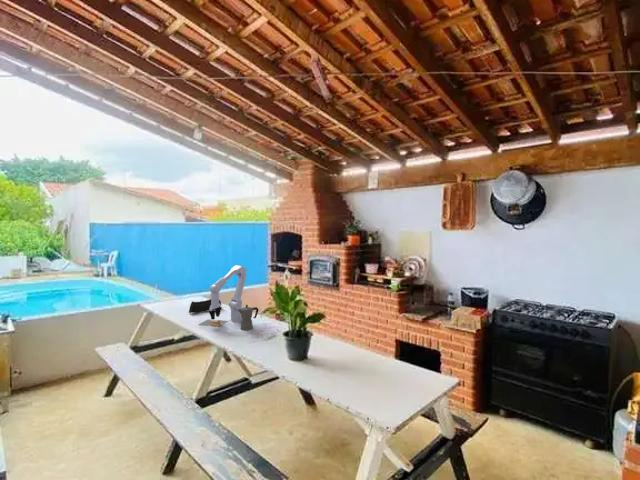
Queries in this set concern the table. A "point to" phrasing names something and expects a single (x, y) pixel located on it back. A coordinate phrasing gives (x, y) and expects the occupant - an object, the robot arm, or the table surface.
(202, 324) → the mat
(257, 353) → the table surface
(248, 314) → the coffeepot
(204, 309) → the black tray
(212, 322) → the card box
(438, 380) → the table surface
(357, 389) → the table surface
